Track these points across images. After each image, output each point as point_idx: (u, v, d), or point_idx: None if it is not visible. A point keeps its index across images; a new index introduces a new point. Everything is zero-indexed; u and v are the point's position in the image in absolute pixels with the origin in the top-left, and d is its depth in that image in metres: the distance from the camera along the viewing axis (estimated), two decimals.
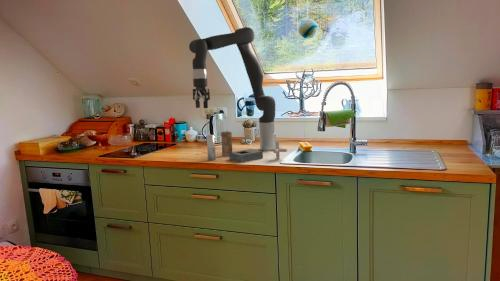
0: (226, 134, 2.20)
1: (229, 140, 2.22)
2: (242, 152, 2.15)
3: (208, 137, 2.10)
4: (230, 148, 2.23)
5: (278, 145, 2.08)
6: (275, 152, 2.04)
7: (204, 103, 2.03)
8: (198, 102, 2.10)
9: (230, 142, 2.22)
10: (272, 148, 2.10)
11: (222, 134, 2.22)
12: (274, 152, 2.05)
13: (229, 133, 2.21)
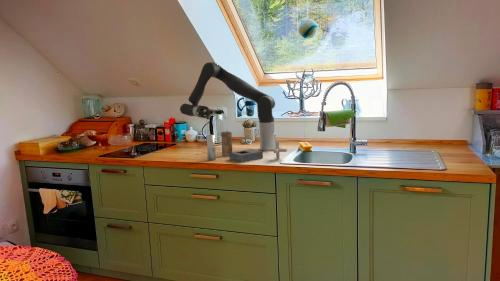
0: (226, 134, 2.20)
1: (229, 140, 2.22)
2: (242, 152, 2.15)
3: (208, 137, 2.10)
4: (230, 148, 2.23)
5: (278, 145, 2.08)
6: (275, 152, 2.04)
7: (206, 115, 2.28)
8: (218, 112, 2.33)
9: (230, 142, 2.22)
10: (272, 148, 2.10)
11: (222, 134, 2.22)
12: (274, 152, 2.05)
13: (229, 133, 2.21)
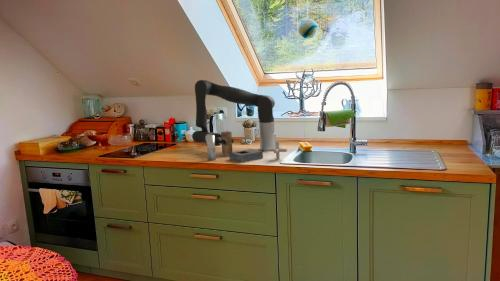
0: (226, 134, 2.20)
1: (229, 140, 2.22)
2: (242, 152, 2.15)
3: (208, 137, 2.10)
4: (230, 148, 2.23)
5: (278, 145, 2.08)
6: (275, 152, 2.04)
7: (222, 143, 2.22)
8: None
9: (230, 142, 2.22)
10: (272, 148, 2.10)
11: (222, 134, 2.22)
12: (274, 152, 2.05)
13: (229, 133, 2.21)
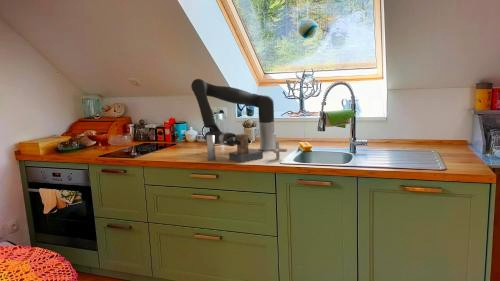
0: (242, 137, 2.07)
1: (245, 143, 2.09)
2: None
3: (208, 137, 2.10)
4: (247, 151, 2.10)
5: (278, 145, 2.08)
6: (275, 152, 2.04)
7: (236, 144, 2.08)
8: None
9: (246, 145, 2.10)
10: (272, 148, 2.10)
11: (238, 137, 2.09)
12: (274, 152, 2.05)
13: (245, 136, 2.09)
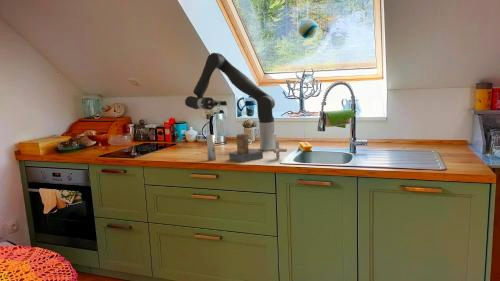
0: (242, 137, 2.07)
1: (245, 143, 2.09)
2: None
3: (208, 137, 2.10)
4: (247, 151, 2.10)
5: (278, 145, 2.08)
6: (275, 152, 2.04)
7: (210, 106, 2.23)
8: (222, 102, 2.28)
9: (246, 145, 2.10)
10: (272, 148, 2.10)
11: (238, 137, 2.09)
12: (274, 152, 2.05)
13: (245, 136, 2.09)
